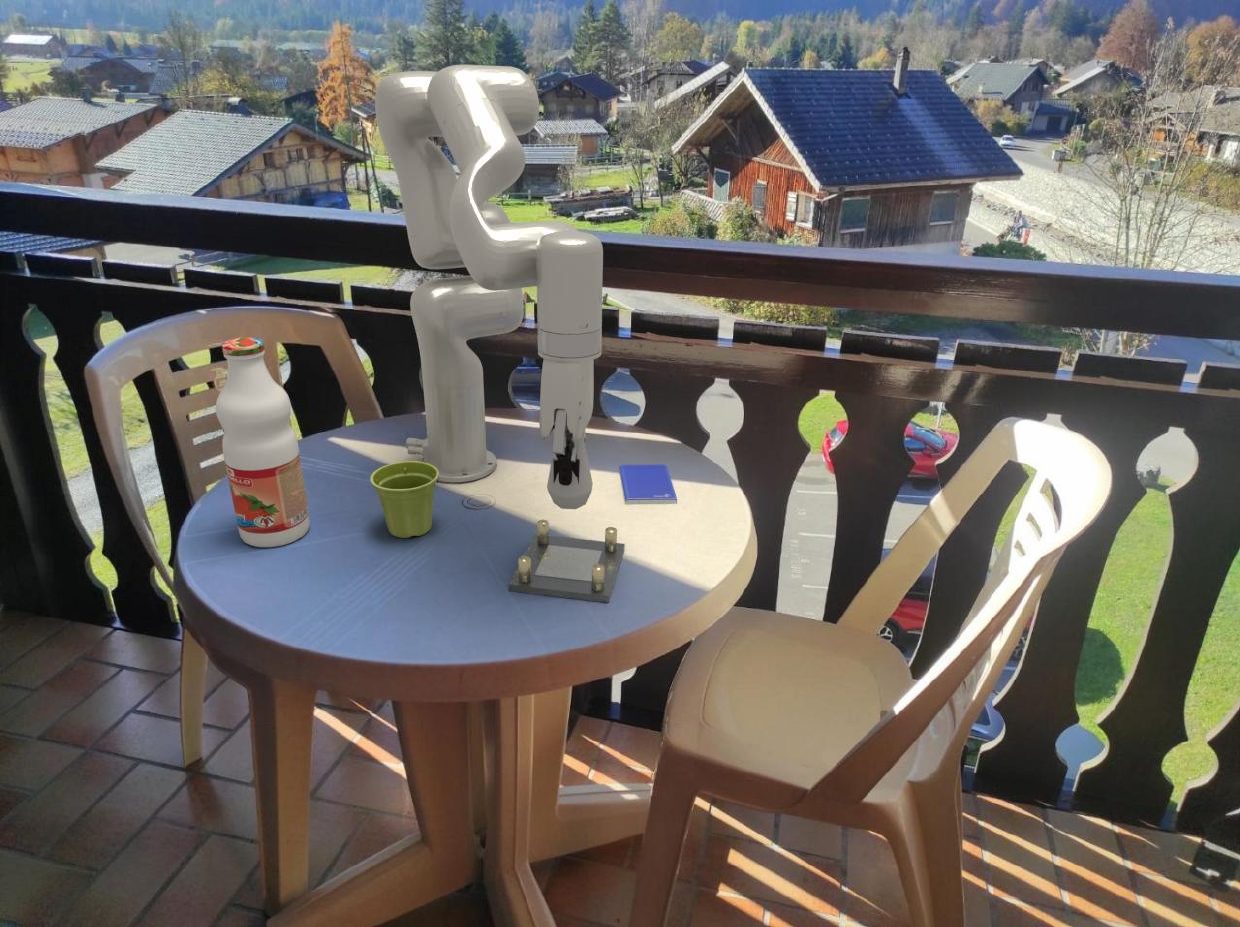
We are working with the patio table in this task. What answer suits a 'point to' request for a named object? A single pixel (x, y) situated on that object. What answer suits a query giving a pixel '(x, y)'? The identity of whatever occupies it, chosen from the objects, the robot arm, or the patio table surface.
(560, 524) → the patio table surface
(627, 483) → the hard drive
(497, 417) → the patio table surface
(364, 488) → the patio table surface
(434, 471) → the plant pot
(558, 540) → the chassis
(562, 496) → the salt shaker
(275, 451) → the fruit juice
